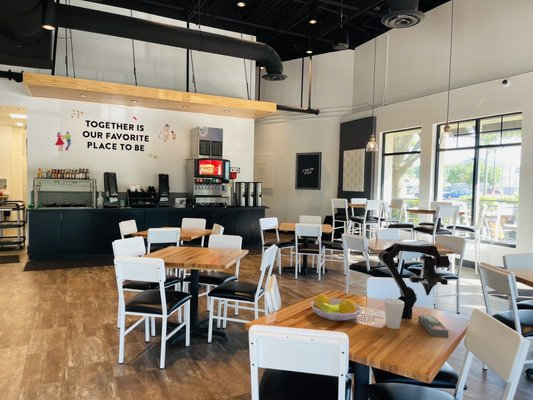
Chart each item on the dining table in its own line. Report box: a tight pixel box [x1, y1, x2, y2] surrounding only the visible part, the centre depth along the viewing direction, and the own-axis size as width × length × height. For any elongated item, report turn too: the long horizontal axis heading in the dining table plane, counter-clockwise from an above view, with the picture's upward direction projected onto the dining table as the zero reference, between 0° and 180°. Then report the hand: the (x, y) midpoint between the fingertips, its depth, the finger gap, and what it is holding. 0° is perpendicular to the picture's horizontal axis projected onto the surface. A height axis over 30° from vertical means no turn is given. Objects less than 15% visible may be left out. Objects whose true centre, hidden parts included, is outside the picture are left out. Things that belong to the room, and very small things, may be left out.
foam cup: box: [383, 297, 404, 330], centre depth 193 cm, size 10×9×13 cm
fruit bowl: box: [311, 294, 362, 322], centre depth 203 cm, size 28×27×11 cm
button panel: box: [418, 314, 449, 337], centre depth 193 cm, size 8×20×3 cm, turn 174°
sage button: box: [428, 319, 438, 324], centre depth 193 cm, size 4×4×2 cm
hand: (427, 295), depth 209 cm, fingers closed
